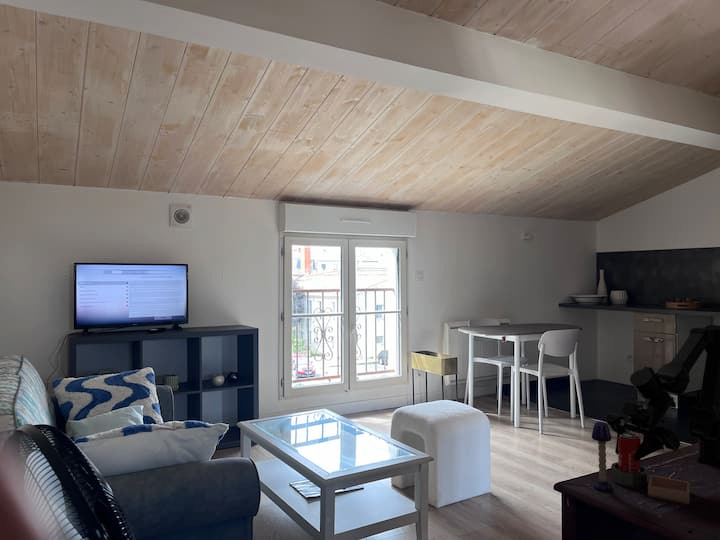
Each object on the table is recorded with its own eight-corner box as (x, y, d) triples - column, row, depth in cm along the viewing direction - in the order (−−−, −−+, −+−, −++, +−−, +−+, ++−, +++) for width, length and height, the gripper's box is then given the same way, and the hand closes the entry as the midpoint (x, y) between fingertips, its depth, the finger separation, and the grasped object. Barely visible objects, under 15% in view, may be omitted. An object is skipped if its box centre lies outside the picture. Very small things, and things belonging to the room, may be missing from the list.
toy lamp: (604, 494, 135) (604, 426, 135) (587, 487, 139) (587, 422, 139) (615, 489, 138) (616, 423, 138) (598, 483, 142) (599, 419, 142)
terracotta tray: (650, 484, 141) (650, 474, 141) (689, 491, 137) (689, 481, 137) (647, 496, 134) (647, 486, 134) (689, 504, 129) (689, 494, 129)
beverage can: (633, 486, 140) (634, 439, 140) (614, 480, 144) (614, 434, 144) (644, 482, 143) (644, 436, 143) (624, 475, 147) (624, 431, 147)
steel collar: (613, 472, 149) (613, 460, 149) (648, 479, 145) (648, 465, 145) (609, 483, 142) (609, 469, 142) (646, 490, 138) (646, 476, 138)
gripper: (609, 383, 153) (581, 428, 148) (673, 398, 137) (644, 449, 132) (628, 408, 157) (601, 453, 152) (692, 425, 140) (664, 476, 135)
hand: (625, 456), depth 143 cm, fingers closed on beverage can, 5 cm apart
